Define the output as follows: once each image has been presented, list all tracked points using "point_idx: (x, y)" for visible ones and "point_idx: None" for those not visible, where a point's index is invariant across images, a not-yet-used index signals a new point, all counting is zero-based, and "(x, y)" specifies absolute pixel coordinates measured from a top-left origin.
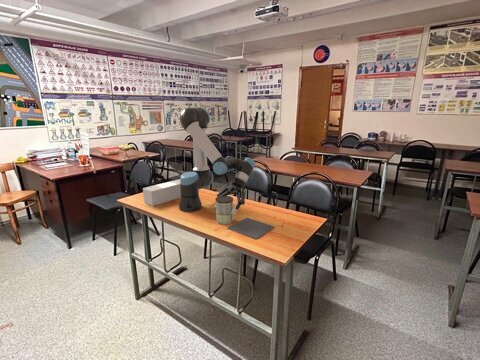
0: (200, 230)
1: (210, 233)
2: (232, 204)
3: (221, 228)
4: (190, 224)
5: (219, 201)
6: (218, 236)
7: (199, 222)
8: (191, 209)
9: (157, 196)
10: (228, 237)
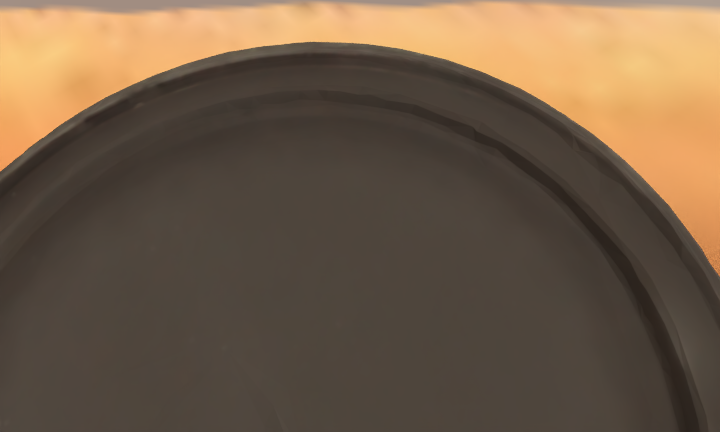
0: (452, 15)
1: (297, 27)
2: None
3: None
4: (699, 55)
5: (281, 47)
6: (175, 26)
7: (657, 165)
8: None
9: None
10: (61, 67)
